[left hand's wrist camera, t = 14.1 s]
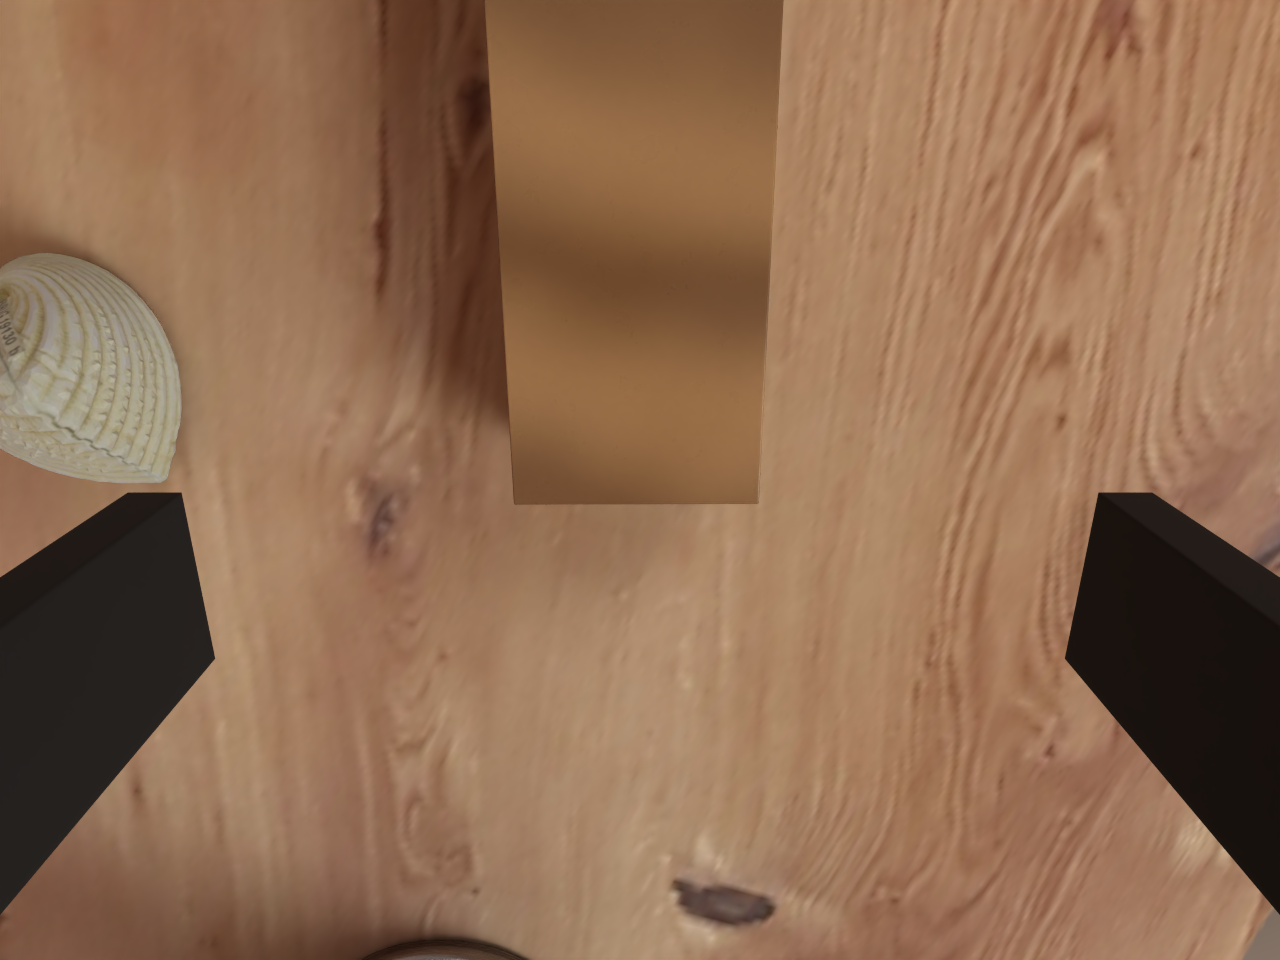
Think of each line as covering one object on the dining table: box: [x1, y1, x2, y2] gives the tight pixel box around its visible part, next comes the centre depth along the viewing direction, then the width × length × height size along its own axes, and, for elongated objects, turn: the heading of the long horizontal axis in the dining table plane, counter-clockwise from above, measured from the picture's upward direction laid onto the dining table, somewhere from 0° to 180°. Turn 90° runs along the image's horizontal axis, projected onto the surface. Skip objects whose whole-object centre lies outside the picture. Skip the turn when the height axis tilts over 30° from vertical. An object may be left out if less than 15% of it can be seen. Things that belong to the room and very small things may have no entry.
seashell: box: [0, 253, 182, 483], centre depth 34 cm, size 8×8×8 cm
